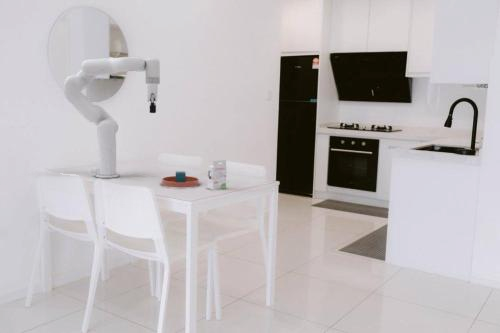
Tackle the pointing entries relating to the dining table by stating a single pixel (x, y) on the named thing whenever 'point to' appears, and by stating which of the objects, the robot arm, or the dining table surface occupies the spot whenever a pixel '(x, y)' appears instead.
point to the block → (180, 176)
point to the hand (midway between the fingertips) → (152, 112)
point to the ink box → (217, 175)
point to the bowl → (172, 182)
